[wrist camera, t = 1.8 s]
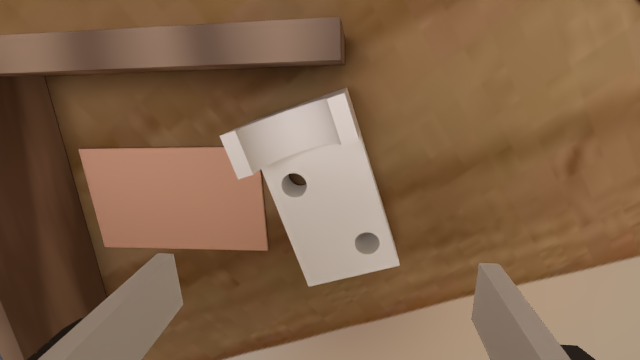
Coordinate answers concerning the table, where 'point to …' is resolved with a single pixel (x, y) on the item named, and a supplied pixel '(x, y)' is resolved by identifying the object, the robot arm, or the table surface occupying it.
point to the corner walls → (52, 163)
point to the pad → (174, 199)
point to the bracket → (319, 186)
